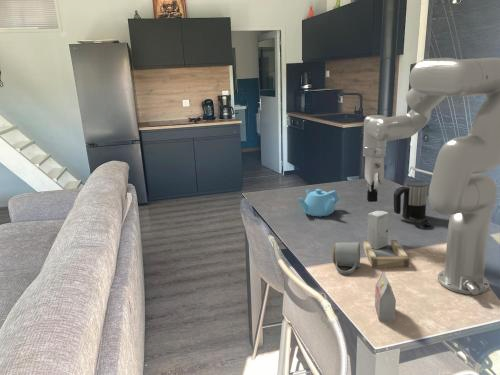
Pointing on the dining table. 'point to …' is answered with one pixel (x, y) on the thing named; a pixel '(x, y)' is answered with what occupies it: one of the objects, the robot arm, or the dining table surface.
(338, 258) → the ceramic mug
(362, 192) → the dining table surface
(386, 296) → the tea bag
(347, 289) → the dining table surface
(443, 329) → the dining table surface
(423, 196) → the black and silver appliance
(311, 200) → the teapot
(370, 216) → the skincare box
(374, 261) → the wooden tray
